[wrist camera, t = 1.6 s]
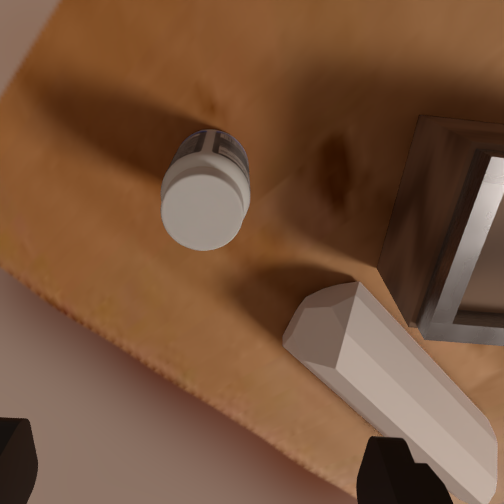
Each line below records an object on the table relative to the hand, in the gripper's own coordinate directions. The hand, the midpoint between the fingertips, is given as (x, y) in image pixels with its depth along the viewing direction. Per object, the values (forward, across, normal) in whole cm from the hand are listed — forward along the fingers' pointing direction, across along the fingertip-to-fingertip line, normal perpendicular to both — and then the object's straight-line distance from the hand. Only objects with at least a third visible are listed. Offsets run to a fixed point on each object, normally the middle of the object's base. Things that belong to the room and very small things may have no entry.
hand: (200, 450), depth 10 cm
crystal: (+21, -15, +16) cm, 30 cm away
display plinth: (+20, -17, 0) cm, 27 cm away
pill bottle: (+21, +1, -1) cm, 21 cm away
